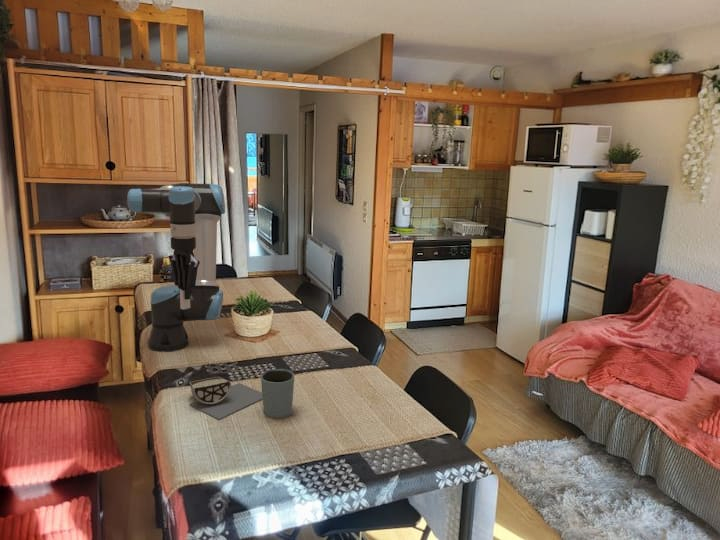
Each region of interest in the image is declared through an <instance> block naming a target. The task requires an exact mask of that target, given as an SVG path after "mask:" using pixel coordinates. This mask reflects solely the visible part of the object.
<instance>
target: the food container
mask: <svg viewBox="0 0 720 540" xmlns="http://www.w3.org/2000/svg"><path fill="white" fill-rule="evenodd" d="M188 382H189V387H190V390H191V391H190V392H191V394H192V396H193V398H194V399H195V401H199V402H201V403H203V404H215V403H218V402H220V401H221V400H223V399H224V398H225V397H226V396H227V394H228V393H229V391H230V387H231V386H232V381H231V380H227V379H225V378H223V377H220V376H213V377H209V378H204V379H198V380H197V379H196V380H194V381H193V380H191V381H188Z"/></svg>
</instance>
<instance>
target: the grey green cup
mask: <svg viewBox="0 0 720 540" xmlns="http://www.w3.org/2000/svg"><path fill="white" fill-rule="evenodd" d="M260 381H261V384H260V385H261V392H262V396H263V400H262V406H263V413H264V416H266V417H267V418H270V419H275V420H276V419H277V420H278V419H284V418H287V417H289V416H290V415H291V414H292V413H293V399H294V386H295V374H294V372H293V371H292V370H289V369H285V368H275V369H274V368H273V369H267V370H266V371H263V372H262V374H261V375H260Z"/></svg>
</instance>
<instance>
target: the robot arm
mask: <svg viewBox="0 0 720 540" xmlns="http://www.w3.org/2000/svg"><path fill="white" fill-rule="evenodd" d="M126 196H127V197H126V198H127V200H126V202H127V207H128V209H129V211H130V212H132V213H153V214H154V213H158V214H159V213H162V214H169V223H170V224H169V225H170V229H169V230H170V236H171V237H170V249H171V250H173V254H171V255H168V260H169V262H170V266H171V270H172V271H171V272H172V277H173V278H172V279H173V282H174V285H173V284H172V285H165V286H161V287H158V288H156V289H154V290H153V291H152V292H151V294H150V313H151V330H150V333H149V337H148V340H147V346H148V349H150V350H151V351H153V352H154V351H155V352H162V351H166V352H174V350H175V351H178V350H179V351H180V350H181V349H182V350H183V349H185V348H186V347H187V346H188V345H190V343H189V340H190V339H189V335H188V333H187V330H186V327H185V325H184V321H215V320H217V319H219V317H220V315H221V312H222V309H223V303H224V291H223V290H221V289H220V285H219V284H218V283H217V281H216V279H217V278H216V277H217V275H216V274H217V246H218V245H217V240H218V237H217V236H218V233H217V231H218V222H219V221H220V220H222V215H225V213H226V202H225V196H224V190H223V188H222V186H221V185H220V184H213V183H188V182H181V183H179V182H178V183H172V184H167V185H163V186H161V187H160V188H131V189H129V190H128V192H127V195H126Z"/></svg>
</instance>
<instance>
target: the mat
mask: <svg viewBox="0 0 720 540" xmlns="http://www.w3.org/2000/svg"><path fill="white" fill-rule="evenodd" d="M260 401H263V396H262V391H259V390H257V389H254V388H252V387H250V386H247V385H246V384H243V383H241V382H238V383H236V384H233V385H231V387H230V391H229V393H228V394H227V396H226V397H225V398H224V399H223V400H221V401H220V402H218V403H215V404H203V403H201V402H199V401H197V400H195V401H193V402H191V403H189V404H188V405H189V406H190V407H192V408H194V409H196V410H198V411H200V412H202V413H204V414H205V415H208V416H209V417H212V418H214V419H216V420H218V421H220V420H223V419H224V418H227V417H229V416H231V415H233V414H235V413H237V412H239V411H241V410H243V409H246V408H248V407H250V406H252V405H255V404H256V403H259V402H260Z"/></svg>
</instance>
